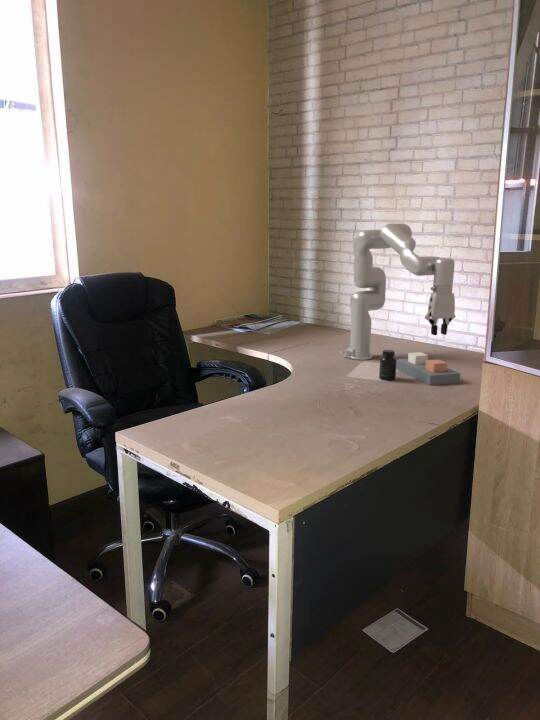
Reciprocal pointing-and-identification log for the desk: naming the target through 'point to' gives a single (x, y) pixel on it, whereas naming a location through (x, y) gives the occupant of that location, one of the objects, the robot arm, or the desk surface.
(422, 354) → the off-white key
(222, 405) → the desk surface
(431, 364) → the terracotta key
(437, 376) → the key panel
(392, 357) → the supplement bottle
